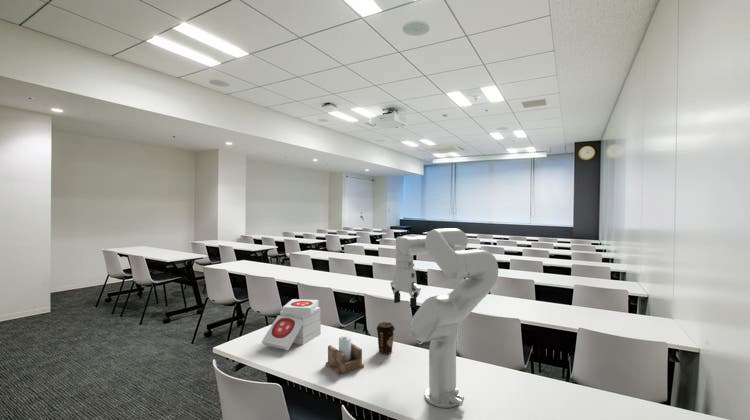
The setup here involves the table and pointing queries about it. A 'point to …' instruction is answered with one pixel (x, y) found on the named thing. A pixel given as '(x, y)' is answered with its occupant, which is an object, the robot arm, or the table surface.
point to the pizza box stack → (295, 324)
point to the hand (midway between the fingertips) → (405, 304)
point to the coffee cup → (385, 337)
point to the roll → (345, 347)
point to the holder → (338, 360)
